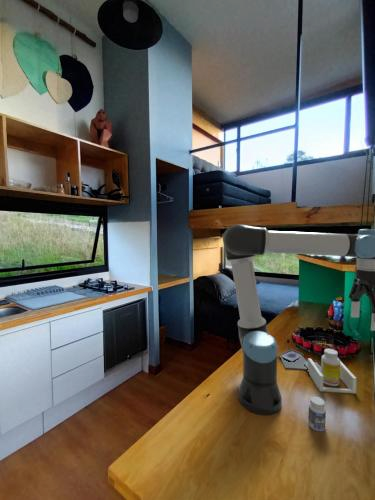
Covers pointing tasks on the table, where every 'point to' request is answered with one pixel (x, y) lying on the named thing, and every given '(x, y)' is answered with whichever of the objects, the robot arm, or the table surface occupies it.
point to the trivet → (294, 364)
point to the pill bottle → (317, 414)
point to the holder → (344, 376)
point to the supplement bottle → (330, 367)
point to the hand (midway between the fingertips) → (364, 323)
